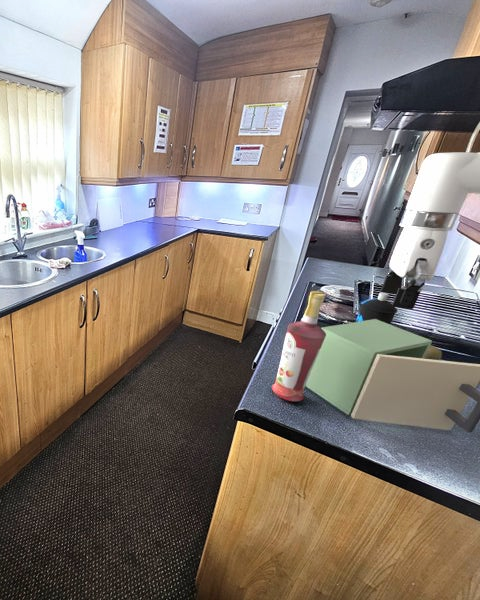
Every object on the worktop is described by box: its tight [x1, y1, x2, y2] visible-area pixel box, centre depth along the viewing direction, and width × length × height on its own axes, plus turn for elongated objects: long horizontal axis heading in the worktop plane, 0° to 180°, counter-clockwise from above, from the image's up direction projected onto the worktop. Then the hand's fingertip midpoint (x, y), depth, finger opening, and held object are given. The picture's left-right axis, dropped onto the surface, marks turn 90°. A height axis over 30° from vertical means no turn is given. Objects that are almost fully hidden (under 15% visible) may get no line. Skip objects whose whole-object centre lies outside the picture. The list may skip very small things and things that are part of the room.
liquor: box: [271, 290, 326, 403], centre depth 76 cm, size 7×7×28 cm
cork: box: [424, 344, 443, 360], centre depth 86 cm, size 6×6×11 cm
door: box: [350, 354, 480, 433], centre depth 68 cm, size 6×19×17 cm, turn 79°
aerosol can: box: [354, 292, 398, 325], centre depth 98 cm, size 8×8×20 cm
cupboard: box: [305, 319, 433, 416], centre depth 81 cm, size 12×19×17 cm, turn 107°
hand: (395, 300), depth 71 cm, fingers open, 9 cm apart
